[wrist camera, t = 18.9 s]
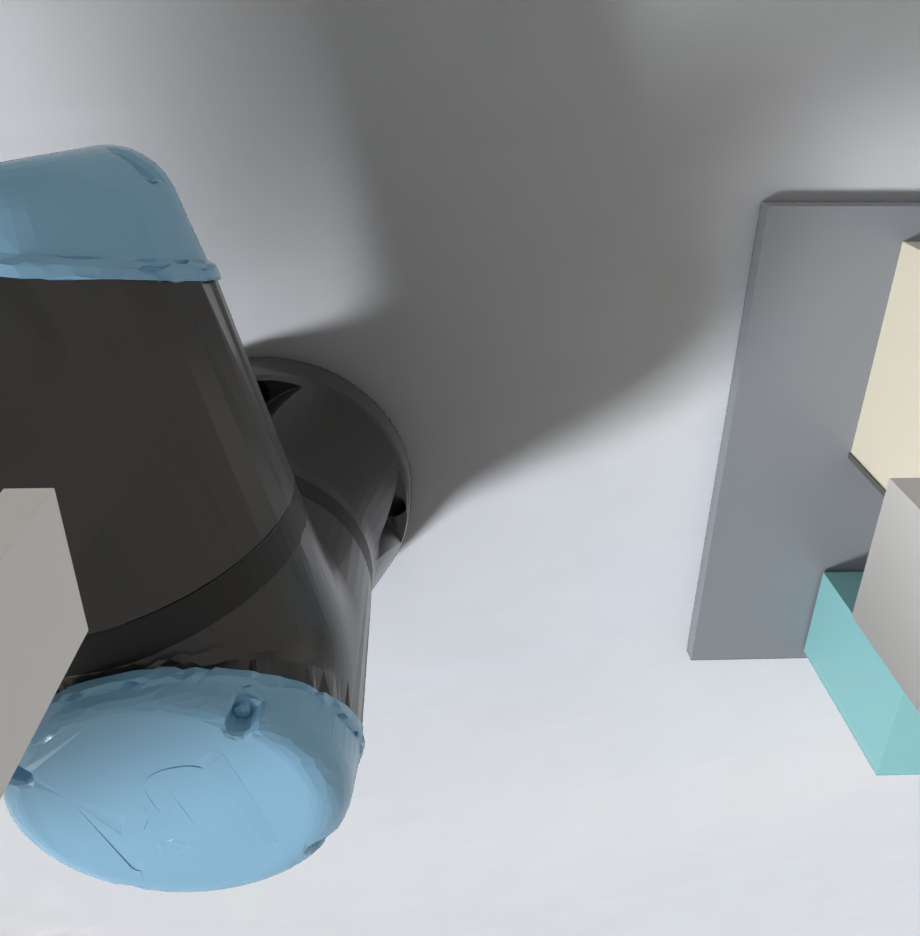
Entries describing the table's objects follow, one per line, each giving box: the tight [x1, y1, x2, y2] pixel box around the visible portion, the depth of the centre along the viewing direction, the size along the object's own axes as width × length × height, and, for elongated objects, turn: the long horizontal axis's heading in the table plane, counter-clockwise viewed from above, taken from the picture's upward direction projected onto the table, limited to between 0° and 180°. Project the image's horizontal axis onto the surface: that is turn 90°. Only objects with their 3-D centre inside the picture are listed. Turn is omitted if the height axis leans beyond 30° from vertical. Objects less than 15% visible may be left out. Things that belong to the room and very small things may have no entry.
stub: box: [804, 572, 920, 776], centre depth 50 cm, size 6×4×10 cm, turn 0°
